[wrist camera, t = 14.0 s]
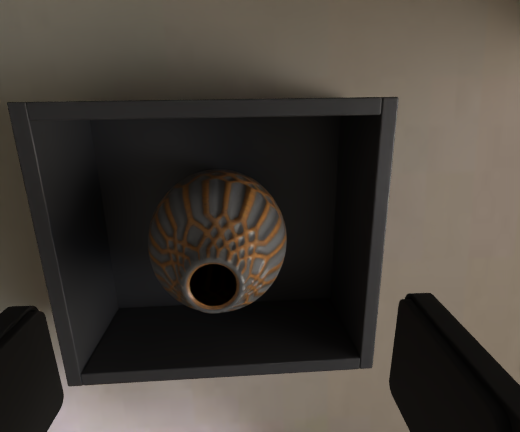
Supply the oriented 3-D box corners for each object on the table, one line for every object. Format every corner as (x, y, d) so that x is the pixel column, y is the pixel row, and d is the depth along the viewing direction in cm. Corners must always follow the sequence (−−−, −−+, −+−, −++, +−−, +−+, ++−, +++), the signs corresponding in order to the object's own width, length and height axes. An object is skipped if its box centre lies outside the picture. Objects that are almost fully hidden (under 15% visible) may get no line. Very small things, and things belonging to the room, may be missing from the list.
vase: (146, 241, 22) (91, 325, 13) (192, 139, 20) (163, 163, 12) (246, 284, 23) (253, 385, 15) (297, 192, 22) (337, 247, 13)
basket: (350, 99, 21) (399, 97, 14) (338, 302, 25) (372, 368, 18) (78, 103, 20) (5, 102, 14) (111, 313, 24) (67, 386, 18)
